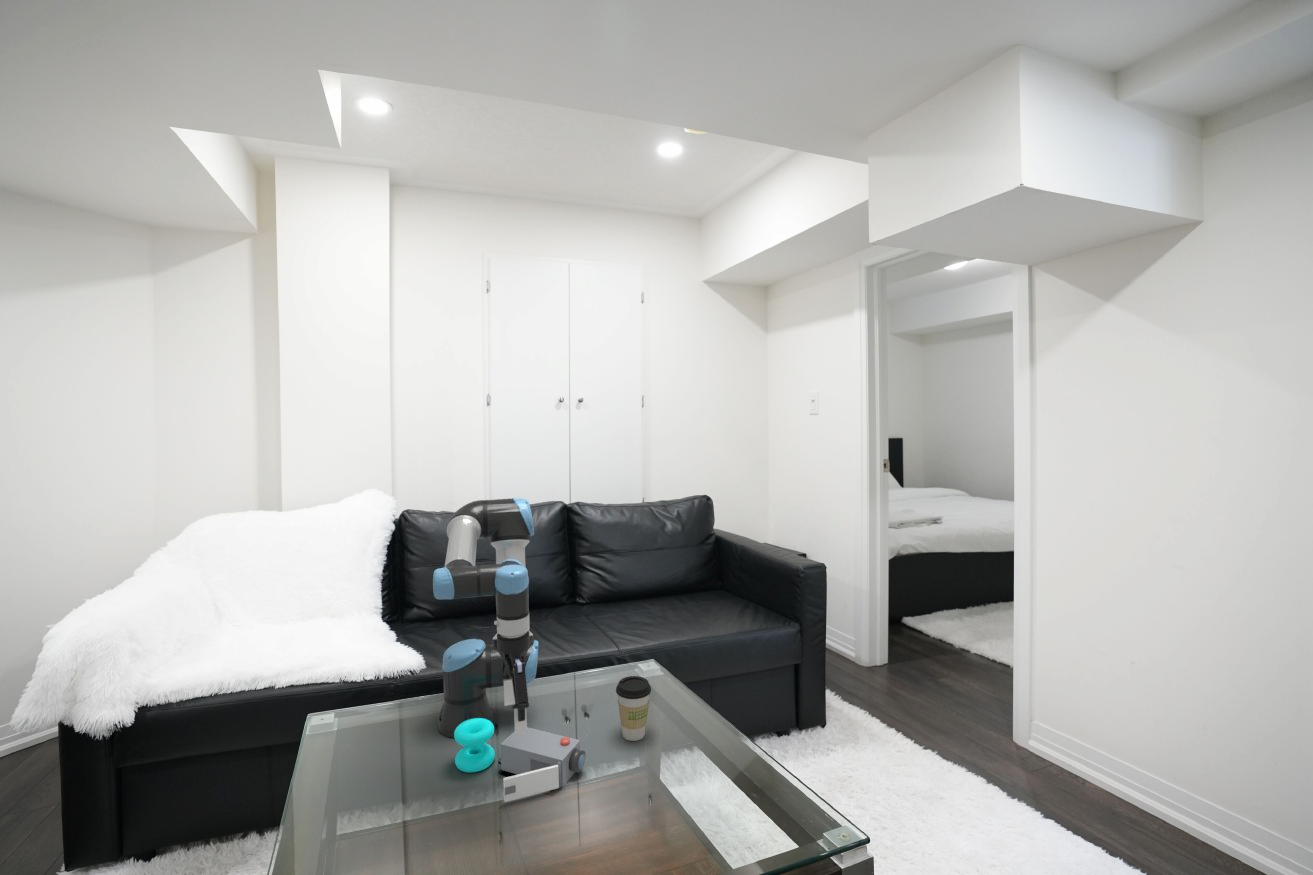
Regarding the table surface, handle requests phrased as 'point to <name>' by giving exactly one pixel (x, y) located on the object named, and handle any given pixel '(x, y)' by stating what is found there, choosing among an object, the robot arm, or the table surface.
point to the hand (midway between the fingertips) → (515, 717)
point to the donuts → (474, 745)
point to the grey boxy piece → (541, 753)
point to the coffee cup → (633, 706)
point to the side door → (532, 782)
